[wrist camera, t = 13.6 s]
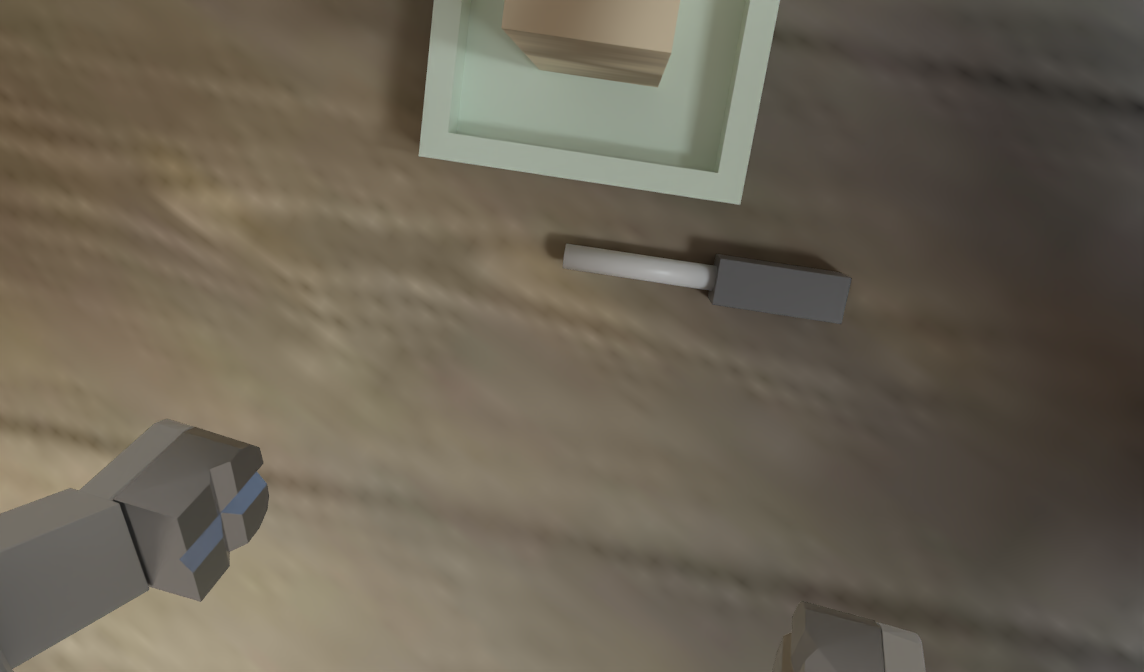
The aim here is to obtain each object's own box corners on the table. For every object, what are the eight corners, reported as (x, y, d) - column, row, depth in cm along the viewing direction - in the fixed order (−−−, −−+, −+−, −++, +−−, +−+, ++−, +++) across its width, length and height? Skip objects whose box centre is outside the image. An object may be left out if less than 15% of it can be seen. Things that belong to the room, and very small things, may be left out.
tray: (794, -131, 28) (811, -160, 25) (731, 201, 30) (740, 204, 28) (469, -175, 28) (454, -208, 26) (435, 156, 31) (418, 156, 28)
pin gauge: (839, 271, 31) (851, 278, 29) (829, 315, 31) (841, 324, 29) (569, 231, 31) (566, 235, 29) (563, 274, 32) (559, 281, 30)
